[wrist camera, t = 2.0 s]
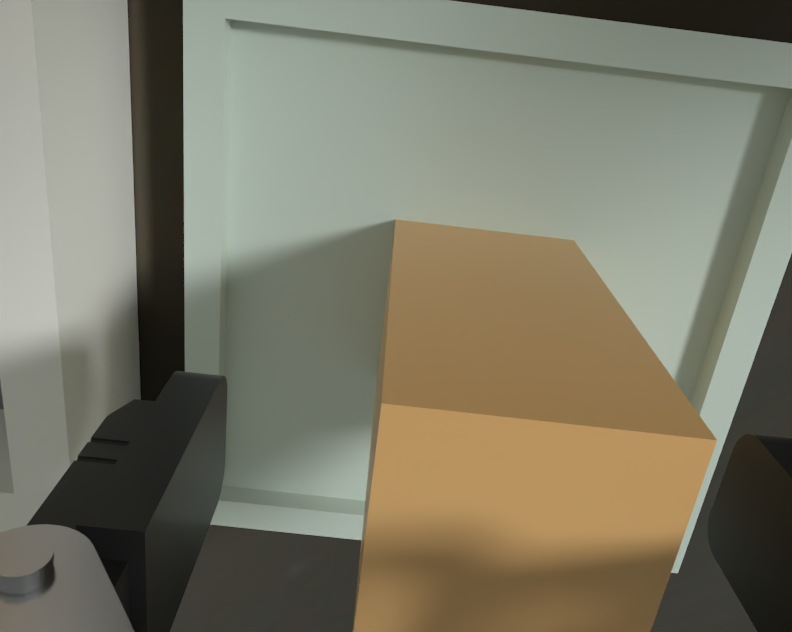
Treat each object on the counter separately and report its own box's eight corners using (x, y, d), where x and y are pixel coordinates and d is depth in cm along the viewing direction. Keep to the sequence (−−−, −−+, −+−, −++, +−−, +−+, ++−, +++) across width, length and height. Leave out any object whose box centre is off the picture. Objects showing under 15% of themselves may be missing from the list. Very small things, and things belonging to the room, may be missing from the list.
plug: (574, 240, 16) (717, 440, 8) (539, 395, 17) (633, 679, 10) (395, 219, 16) (381, 403, 8) (376, 377, 17) (350, 651, 10)
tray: (828, 49, 15) (862, 52, 13) (662, 541, 20) (677, 573, 19) (200, -30, 14) (182, -34, 13) (198, 492, 19) (185, 521, 18)
